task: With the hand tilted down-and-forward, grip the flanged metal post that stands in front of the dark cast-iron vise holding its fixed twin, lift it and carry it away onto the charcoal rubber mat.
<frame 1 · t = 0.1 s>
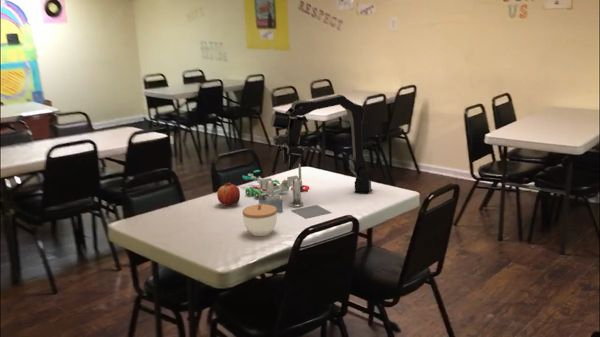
hand: (287, 166, 252), 15 cm above the table, tool pointing down, fingers open, 9 cm apart
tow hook: (300, 189, 272), on the table
vise: (270, 209, 244), on the table
flanged metal post: (297, 205, 248), on the table
fruit: (229, 205, 253), on the table
lidded bowl: (261, 233, 219), on the table
robot kit: (261, 192, 271), on the table
mat: (311, 211, 240), on the table
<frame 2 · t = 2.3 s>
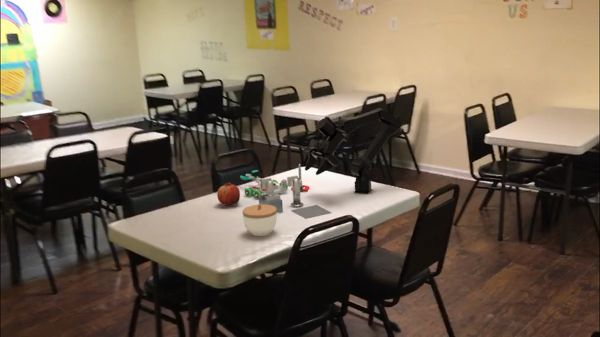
hand: (310, 172, 249), 13 cm above the table, tool tilted 45°, fingers open, 9 cm apart
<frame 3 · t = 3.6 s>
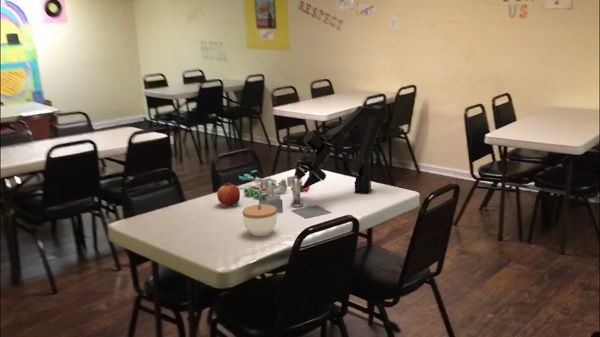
hand: (297, 185, 247), 9 cm above the table, tool tilted 45°, fingers open, 9 cm apart
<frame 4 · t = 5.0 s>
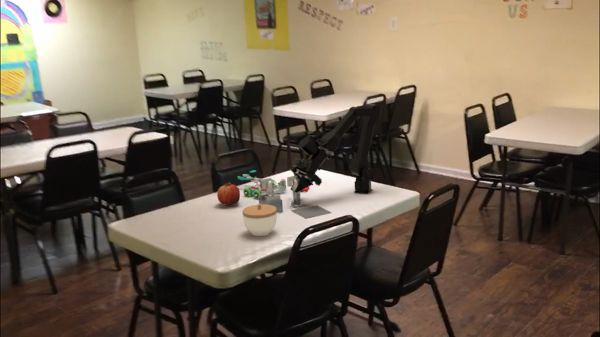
hand: (293, 191, 246), 7 cm above the table, tool tilted 45°, fingers closed on flanged metal post, 3 cm apart
flanged metal post: (297, 205, 248), on the table, touching gripper
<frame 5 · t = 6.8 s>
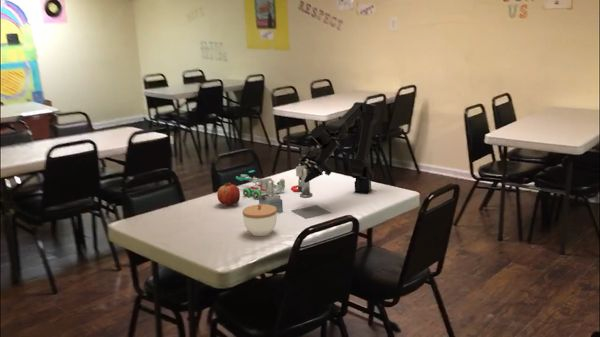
hand: (302, 181, 239), 12 cm above the table, tool tilted 45°, fingers closed on flanged metal post, 3 cm apart
flanged metal post: (306, 196, 241), point 6 cm above the table, touching gripper
when the fingers open (8 cm above the table, at t = 8.5 s): flanged metal post stays where it is, resting on mat.
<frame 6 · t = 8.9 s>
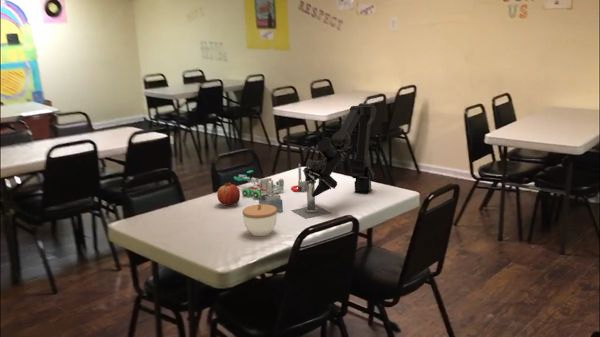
hand: (307, 194, 237), 8 cm above the table, tool tilted 45°, fingers open, 8 cm apart
flanged metal post: (311, 211, 240), resting on mat
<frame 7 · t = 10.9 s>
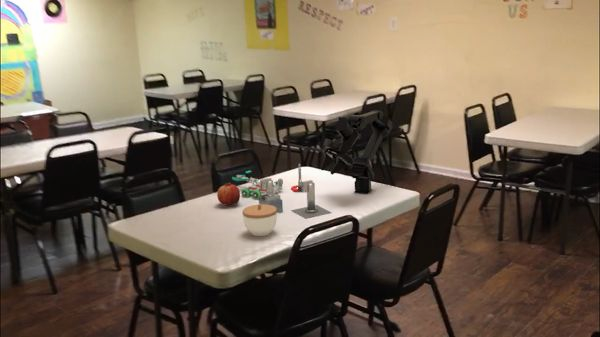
hand: (326, 171, 248), 13 cm above the table, tool tilted 40°, fingers open, 9 cm apart
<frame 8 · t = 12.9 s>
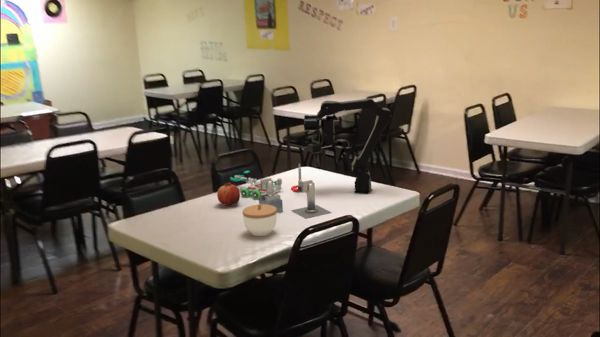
hand: (328, 164, 261), 13 cm above the table, tool pointing down, fingers open, 9 cm apart
at the end: flanged metal post inside the target area on the mat (0.2 cm from its centre), point 0.2 cm above the mat's base; flanged metal post tilted 0°; the gripper is holding nothing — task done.
